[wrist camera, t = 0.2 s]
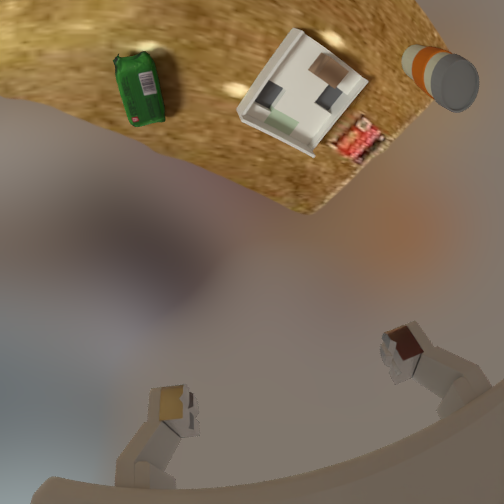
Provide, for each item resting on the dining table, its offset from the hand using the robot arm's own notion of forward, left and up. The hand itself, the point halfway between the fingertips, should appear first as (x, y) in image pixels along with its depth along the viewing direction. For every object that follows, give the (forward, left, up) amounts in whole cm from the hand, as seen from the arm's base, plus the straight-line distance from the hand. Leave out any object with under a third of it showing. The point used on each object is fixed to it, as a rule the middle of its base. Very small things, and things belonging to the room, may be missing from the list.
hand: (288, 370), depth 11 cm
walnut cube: (-10, +19, -49) cm, 54 cm away
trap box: (-4, +19, -52) cm, 55 cm away
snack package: (+9, -8, -52) cm, 54 cm away
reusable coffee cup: (-27, +38, -52) cm, 69 cm away
